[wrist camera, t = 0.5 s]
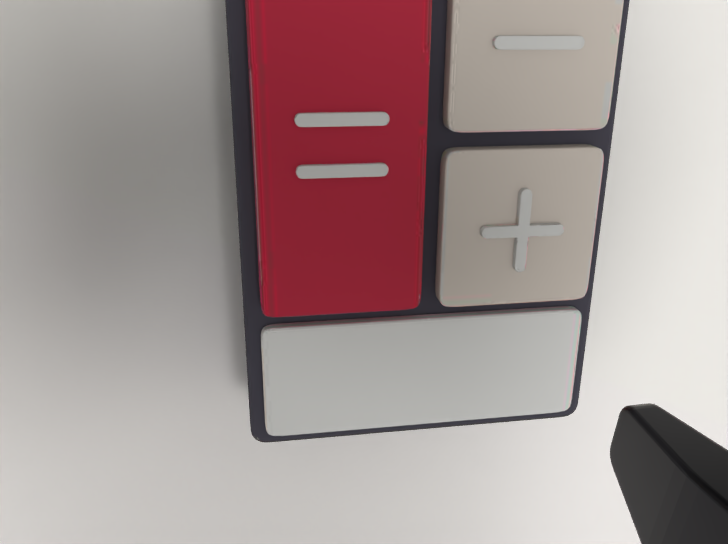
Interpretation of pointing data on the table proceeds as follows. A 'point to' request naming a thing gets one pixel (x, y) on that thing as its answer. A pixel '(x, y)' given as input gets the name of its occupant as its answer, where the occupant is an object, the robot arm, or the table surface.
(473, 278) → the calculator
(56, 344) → the table surface
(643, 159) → the table surface
